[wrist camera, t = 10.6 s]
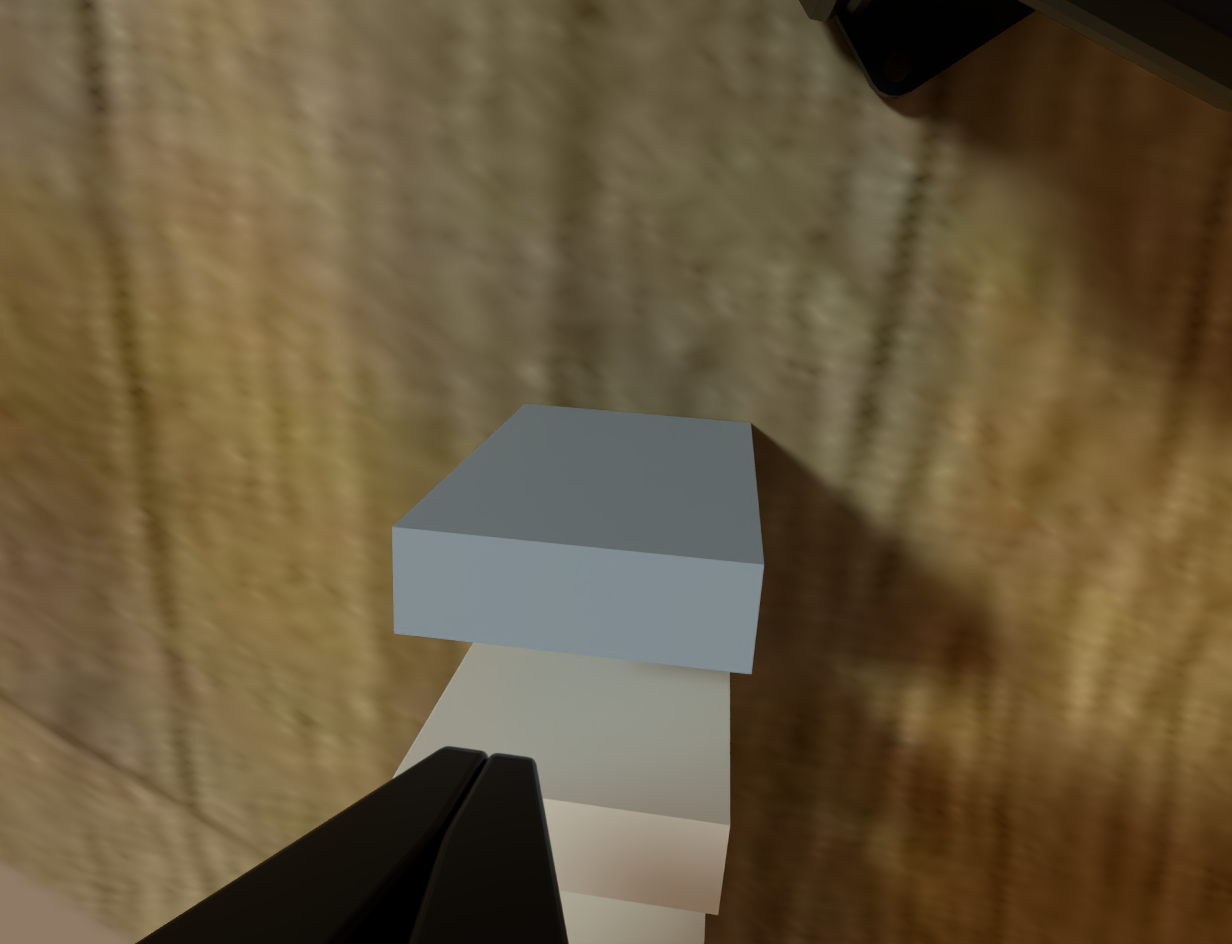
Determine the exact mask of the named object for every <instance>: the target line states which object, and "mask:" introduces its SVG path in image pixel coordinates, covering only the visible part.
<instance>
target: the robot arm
mask: <svg viewBox="0 0 1232 944" xmlns="http://www.w3.org/2000/svg"><path fill="white" fill-rule="evenodd" d="M799 1H800V3H801V5H802V6H803V8H804V10H805V12H806V14H807V16H808V17H809V18H810V19H813V20H818V21H822V22H827V21H828V20H830V19H831V18H834V20H835V22H836V24H837V26H838V28H839V30H840V31H841V33H842V35H843V37H844V39H845V41H846V43H847V45H848V46H849V48H850V50H851V52H852V54H853V56H854V58H855V59H856V61H857V63H858V65H859V67H860V69H861V71H862V73H863V74H864V76H865V78H866V80H867V82H868V84H869V86H870V87H871V88H872V89H873V91H874V92H875V93H876V94H877V95H880V96H882V97H884V98H899V97H901V96H904V95H906V94H908V93H909V92H911V91H912V90H914V89H915V88H917V87H919V86H920V85H922V84H923V83H925V82H926V81H928V80H929V79H931V78H932V77H934V76H935V75H937V74H939V73H940V72H942V71H943V70H945V69H946V68H948V67H949V66H951V65H952V64H954V63H956V62H957V61H959V60H960V59H962V58H963V57H965V56H966V55H968V54H969V53H971V52H972V51H974V50H976V49H977V48H979V47H980V46H982V45H983V44H985V43H986V42H988V41H989V40H991V39H992V38H994V37H996V36H997V35H999V34H1000V33H1002V32H1003V31H1005V30H1006V29H1008V28H1009V27H1011V26H1012V25H1014V24H1016V23H1017V22H1019V21H1020V20H1022V19H1023V18H1025V17H1026V16H1028V15H1029V14H1031V13H1032V12H1034V11H1036V10H1037V11H1039V12H1041V13H1042V14H1044V15H1046V16H1048V17H1050V18H1052V19H1053V20H1055V21H1057V22H1059V23H1061V24H1063V25H1065V26H1066V27H1068V28H1070V29H1072V30H1074V31H1076V32H1078V33H1079V34H1081V35H1083V36H1085V37H1087V38H1089V39H1090V40H1092V41H1094V42H1096V43H1098V44H1100V45H1102V46H1103V47H1105V48H1107V49H1109V50H1111V51H1113V52H1114V53H1116V54H1118V55H1120V56H1122V57H1124V58H1126V59H1127V60H1129V61H1131V62H1133V63H1135V64H1137V65H1139V66H1140V67H1142V68H1144V69H1146V70H1148V71H1150V72H1151V73H1153V74H1155V75H1157V76H1159V77H1161V78H1163V79H1164V80H1166V81H1168V82H1170V83H1172V84H1174V85H1175V86H1177V87H1179V88H1181V89H1183V90H1185V91H1187V92H1188V93H1190V94H1192V95H1194V96H1196V97H1198V98H1200V99H1201V100H1203V101H1205V102H1207V103H1209V104H1211V105H1212V106H1214V107H1216V108H1219V109H1223V110H1226V111H1230V112H1232V0H799ZM894 55H896V56H901V57H902V58H903V59H904V60H905V61H906V62H907V66H908V72H907V75H906V78H905V79H904V80H902V81H899V82H894V81H890V80H889V79H888V78H887V77H886V76H885V73H884V69H883V67H884V64H885V60H886V59H887V58H888V57H891V56H894ZM135 944H569V942H568V936H567V931H566V925H565V920H564V914H563V909H562V903H561V897H560V892H559V886H558V881H557V875H556V870H555V864H554V859H553V853H552V848H551V842H550V836H549V831H548V825H547V820H546V814H545V809H544V803H543V798H542V792H541V786H540V781H539V775H538V770H537V765H536V762H535V760H534V759H533V758H531V757H526V756H519V755H511V754H504V753H494V754H492V755H491V756H490V757H488V755H487V753H486V752H485V751H482V750H475V749H468V748H461V747H454V746H445V747H442V748H440V749H438V750H437V751H435V752H434V753H432V754H431V755H429V756H428V757H426V758H424V759H423V760H421V761H420V762H418V763H417V764H415V765H413V766H412V767H410V768H409V769H407V770H406V771H404V772H403V773H401V774H399V775H398V776H396V777H395V778H393V779H392V780H390V781H388V782H387V783H385V784H384V785H382V786H381V787H379V788H378V789H376V790H374V791H373V792H371V793H370V794H368V795H367V796H365V797H364V798H362V799H360V800H359V801H357V802H356V803H354V804H353V805H351V806H349V807H348V808H346V809H345V810H343V811H342V812H340V813H339V814H337V815H335V816H334V817H332V818H331V819H329V820H328V821H326V822H324V823H323V824H321V825H320V826H318V827H317V828H315V829H314V830H312V831H310V832H309V833H307V834H306V835H304V836H303V837H301V838H299V839H298V840H296V841H295V842H293V843H292V844H290V845H289V846H287V847H285V848H284V849H282V850H281V851H279V852H278V853H276V854H274V855H273V856H271V857H270V858H268V859H267V860H265V861H264V862H262V863H260V864H259V865H257V866H256V867H254V868H253V869H251V870H249V871H248V872H246V873H245V874H243V875H242V876H240V877H239V878H237V879H235V880H234V881H232V882H231V883H229V884H228V885H226V886H225V887H223V888H221V889H220V890H218V891H217V892H215V893H214V894H212V895H210V896H209V897H207V898H206V899H204V900H203V901H201V902H200V903H198V904H196V905H195V906H193V907H192V908H190V909H189V910H187V911H185V912H184V913H182V914H181V915H179V916H178V917H176V918H175V919H173V920H171V921H170V922H168V923H167V924H165V925H164V926H162V927H160V928H159V929H157V930H156V931H154V932H153V933H151V934H150V935H148V936H146V937H145V938H143V939H142V940H140V941H139V942H137V943H135Z"/></svg>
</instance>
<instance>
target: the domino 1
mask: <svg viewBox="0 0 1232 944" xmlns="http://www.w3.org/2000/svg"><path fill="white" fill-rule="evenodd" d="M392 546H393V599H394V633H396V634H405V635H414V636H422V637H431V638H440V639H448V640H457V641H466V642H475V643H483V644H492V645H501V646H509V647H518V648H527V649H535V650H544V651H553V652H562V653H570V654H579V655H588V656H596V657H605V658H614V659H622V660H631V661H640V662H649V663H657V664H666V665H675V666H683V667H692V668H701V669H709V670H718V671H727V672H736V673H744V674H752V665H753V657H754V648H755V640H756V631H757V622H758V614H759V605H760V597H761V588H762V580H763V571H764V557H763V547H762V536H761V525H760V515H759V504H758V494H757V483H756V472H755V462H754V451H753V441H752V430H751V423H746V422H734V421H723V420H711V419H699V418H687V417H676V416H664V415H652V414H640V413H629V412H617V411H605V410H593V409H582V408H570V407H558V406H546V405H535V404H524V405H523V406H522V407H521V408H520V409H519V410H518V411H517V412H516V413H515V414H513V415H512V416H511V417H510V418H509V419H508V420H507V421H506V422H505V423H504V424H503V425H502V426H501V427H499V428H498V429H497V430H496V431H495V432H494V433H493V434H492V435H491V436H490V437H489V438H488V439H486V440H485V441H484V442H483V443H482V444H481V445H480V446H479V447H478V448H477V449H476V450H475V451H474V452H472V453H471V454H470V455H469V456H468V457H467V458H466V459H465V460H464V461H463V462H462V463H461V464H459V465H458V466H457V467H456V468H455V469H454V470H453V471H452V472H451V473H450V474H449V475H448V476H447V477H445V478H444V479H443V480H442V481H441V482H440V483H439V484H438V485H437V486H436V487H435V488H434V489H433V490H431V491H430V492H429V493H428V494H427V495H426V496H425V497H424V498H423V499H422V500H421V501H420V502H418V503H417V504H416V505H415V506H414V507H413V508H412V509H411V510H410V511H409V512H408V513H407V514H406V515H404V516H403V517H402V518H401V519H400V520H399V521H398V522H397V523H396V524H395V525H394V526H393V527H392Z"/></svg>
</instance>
